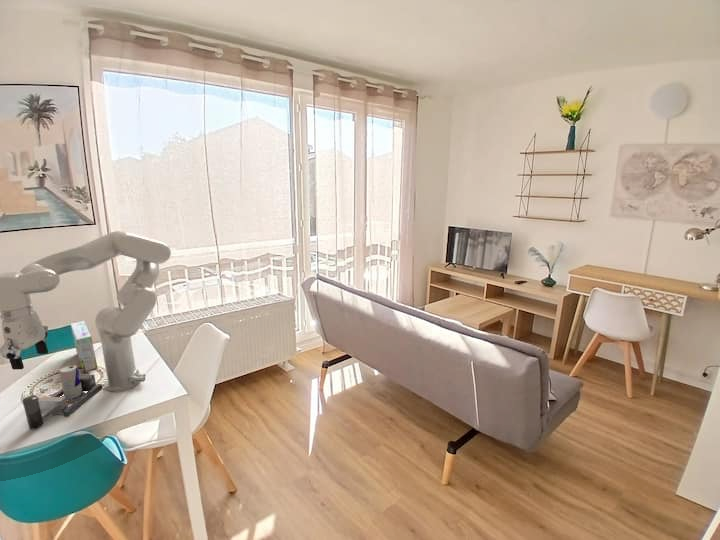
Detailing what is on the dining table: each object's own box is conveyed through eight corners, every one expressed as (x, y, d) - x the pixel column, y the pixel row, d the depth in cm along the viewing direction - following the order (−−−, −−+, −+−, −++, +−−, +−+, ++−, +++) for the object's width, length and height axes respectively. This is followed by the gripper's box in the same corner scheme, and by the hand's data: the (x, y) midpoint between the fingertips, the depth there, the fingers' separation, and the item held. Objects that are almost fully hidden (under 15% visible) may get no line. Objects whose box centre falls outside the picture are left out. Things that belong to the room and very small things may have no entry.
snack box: (75, 354, 171) (69, 323, 167) (90, 350, 175) (85, 320, 171) (82, 372, 156) (75, 339, 152) (98, 368, 160) (92, 335, 156)
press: (102, 388, 145) (99, 374, 143) (68, 416, 128) (64, 401, 127) (70, 387, 145) (67, 373, 143) (32, 416, 128) (28, 400, 127)
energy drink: (86, 393, 142) (81, 364, 139) (76, 401, 136) (70, 372, 133) (72, 393, 141) (66, 364, 138) (61, 402, 136) (55, 372, 133)
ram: (68, 409, 131) (63, 384, 129) (43, 429, 121) (37, 402, 119) (45, 409, 131) (39, 383, 129) (19, 428, 121) (12, 401, 119)
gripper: (5, 323, 109) (20, 375, 114) (51, 301, 126) (62, 348, 131) (-22, 323, 109) (-5, 375, 114) (28, 302, 126) (40, 348, 130)
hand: (31, 360), depth 122 cm, fingers open, 9 cm apart
